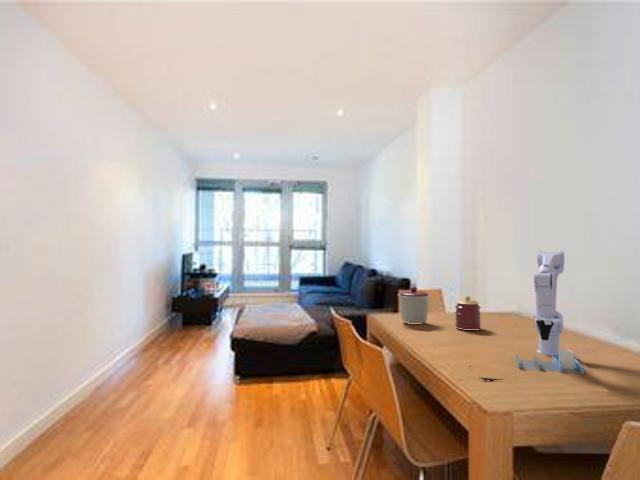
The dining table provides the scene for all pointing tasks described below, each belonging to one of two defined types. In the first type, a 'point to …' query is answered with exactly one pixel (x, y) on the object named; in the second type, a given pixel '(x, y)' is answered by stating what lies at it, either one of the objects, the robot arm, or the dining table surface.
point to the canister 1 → (414, 305)
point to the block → (566, 359)
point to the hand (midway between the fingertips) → (544, 339)
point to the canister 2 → (468, 314)
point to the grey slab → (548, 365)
